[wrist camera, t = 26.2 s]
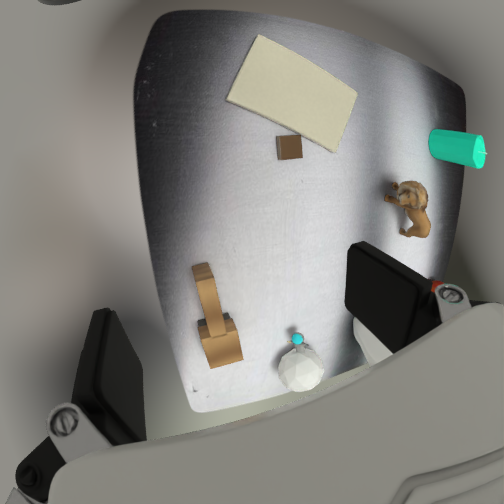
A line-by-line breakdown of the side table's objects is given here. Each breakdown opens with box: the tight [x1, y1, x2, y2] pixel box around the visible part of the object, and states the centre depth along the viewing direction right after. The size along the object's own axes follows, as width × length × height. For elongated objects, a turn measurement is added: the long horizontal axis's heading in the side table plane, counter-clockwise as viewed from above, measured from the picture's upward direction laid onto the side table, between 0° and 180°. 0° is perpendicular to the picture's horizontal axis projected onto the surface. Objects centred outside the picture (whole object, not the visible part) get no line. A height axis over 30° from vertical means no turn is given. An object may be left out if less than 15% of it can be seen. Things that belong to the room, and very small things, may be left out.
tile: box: [225, 35, 358, 153], centre depth 30 cm, size 16×10×1 cm, turn 68°
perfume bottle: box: [278, 333, 324, 392], centre depth 43 cm, size 8×8×12 cm
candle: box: [429, 129, 487, 168], centre depth 35 cm, size 6×6×12 cm
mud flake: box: [276, 135, 303, 160], centre depth 32 cm, size 3×3×1 cm
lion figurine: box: [385, 181, 431, 238], centre depth 38 cm, size 15×5×9 cm, turn 49°
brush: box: [192, 263, 244, 369], centre depth 36 cm, size 14×5×5 cm, turn 8°
